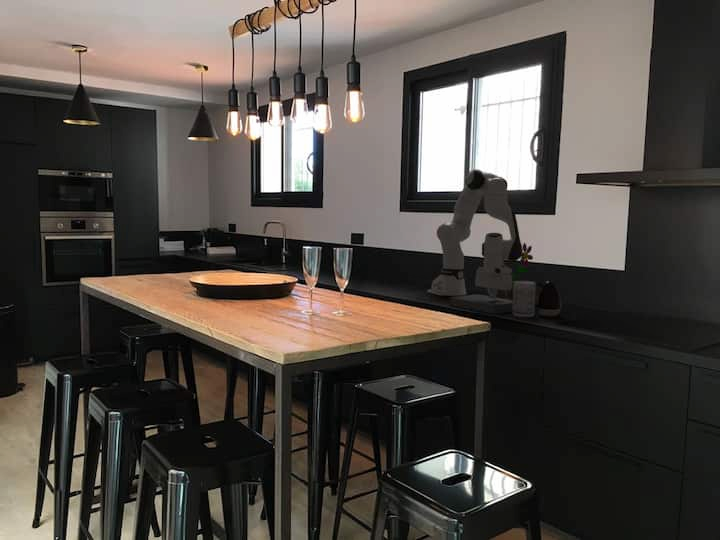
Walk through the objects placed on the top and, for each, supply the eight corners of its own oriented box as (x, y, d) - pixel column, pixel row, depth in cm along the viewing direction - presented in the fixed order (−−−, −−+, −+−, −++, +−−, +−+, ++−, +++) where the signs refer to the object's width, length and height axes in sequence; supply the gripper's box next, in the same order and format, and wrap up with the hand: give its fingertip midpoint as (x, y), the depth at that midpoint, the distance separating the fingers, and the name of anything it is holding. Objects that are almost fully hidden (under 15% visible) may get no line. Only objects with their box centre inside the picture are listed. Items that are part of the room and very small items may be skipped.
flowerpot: (521, 306, 278) (523, 243, 275) (496, 303, 289) (498, 242, 286) (538, 303, 288) (540, 242, 285) (513, 300, 298) (515, 241, 295)
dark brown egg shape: (536, 313, 262) (537, 279, 261) (560, 314, 259) (561, 280, 257) (535, 317, 253) (536, 282, 251) (561, 318, 249) (562, 282, 248)
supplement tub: (515, 312, 262) (516, 280, 261) (537, 314, 258) (538, 281, 256) (509, 316, 254) (510, 282, 252) (531, 318, 249) (532, 284, 248)
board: (450, 305, 282) (450, 297, 281) (477, 302, 292) (477, 294, 291) (493, 314, 258) (493, 305, 258) (521, 310, 268) (521, 301, 268)
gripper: (472, 266, 276) (471, 296, 278) (505, 270, 259) (504, 301, 261) (481, 266, 280) (481, 294, 281) (514, 269, 263) (514, 300, 264)
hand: (492, 298), depth 271 cm, fingers closed
